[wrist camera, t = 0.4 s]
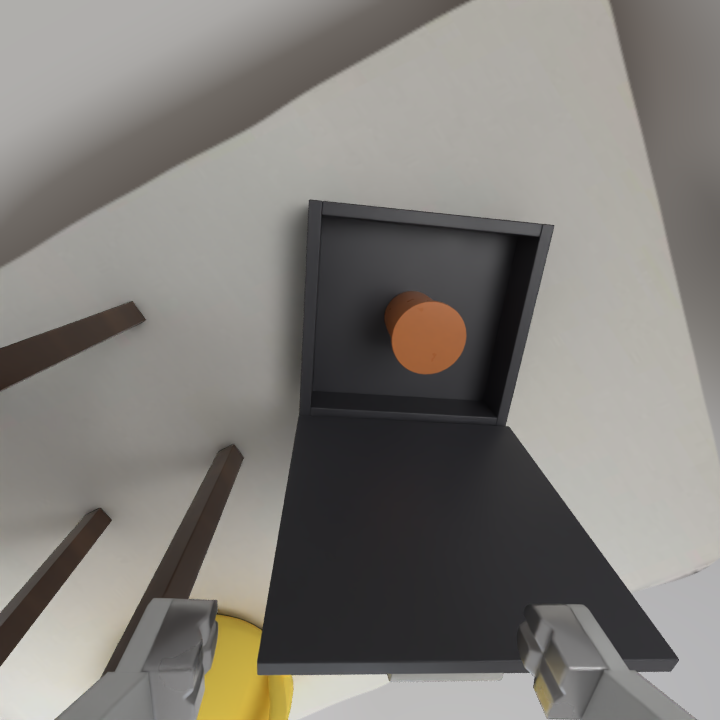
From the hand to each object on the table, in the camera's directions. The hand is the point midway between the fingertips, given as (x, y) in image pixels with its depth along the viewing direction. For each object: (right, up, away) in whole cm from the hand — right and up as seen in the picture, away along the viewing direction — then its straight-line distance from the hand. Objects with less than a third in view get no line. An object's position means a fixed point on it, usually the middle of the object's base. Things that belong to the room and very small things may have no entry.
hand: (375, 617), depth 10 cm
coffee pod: (+3, +10, +19) cm, 21 cm away
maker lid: (+3, -1, +11) cm, 11 cm away
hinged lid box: (+3, +10, +19) cm, 22 cm away
